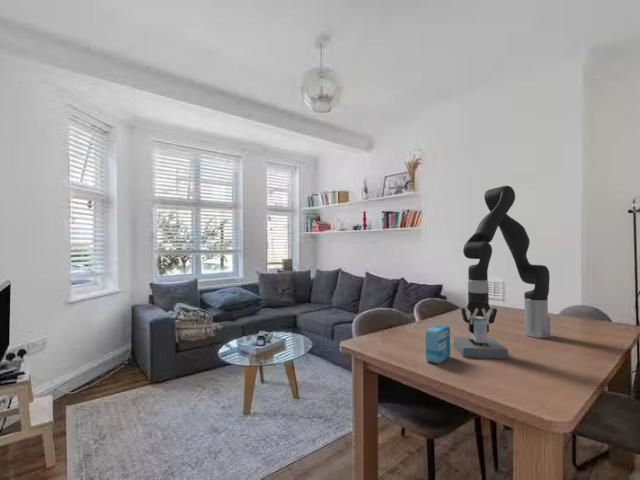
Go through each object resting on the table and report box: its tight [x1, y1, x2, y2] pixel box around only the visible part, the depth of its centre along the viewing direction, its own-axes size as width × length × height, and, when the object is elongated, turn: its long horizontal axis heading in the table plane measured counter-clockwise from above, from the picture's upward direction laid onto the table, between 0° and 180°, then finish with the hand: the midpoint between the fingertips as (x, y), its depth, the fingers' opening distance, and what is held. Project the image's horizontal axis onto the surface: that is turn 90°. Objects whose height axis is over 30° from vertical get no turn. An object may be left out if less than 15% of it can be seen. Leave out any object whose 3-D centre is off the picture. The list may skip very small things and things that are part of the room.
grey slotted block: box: [453, 336, 509, 360], centre depth 135 cm, size 16×15×4 cm
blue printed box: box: [425, 324, 451, 365], centre depth 126 cm, size 12×4×12 cm, turn 138°
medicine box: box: [470, 316, 488, 343], centre depth 135 cm, size 8×4×9 cm, turn 168°
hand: (478, 333), depth 135 cm, fingers closed on medicine box, 4 cm apart
